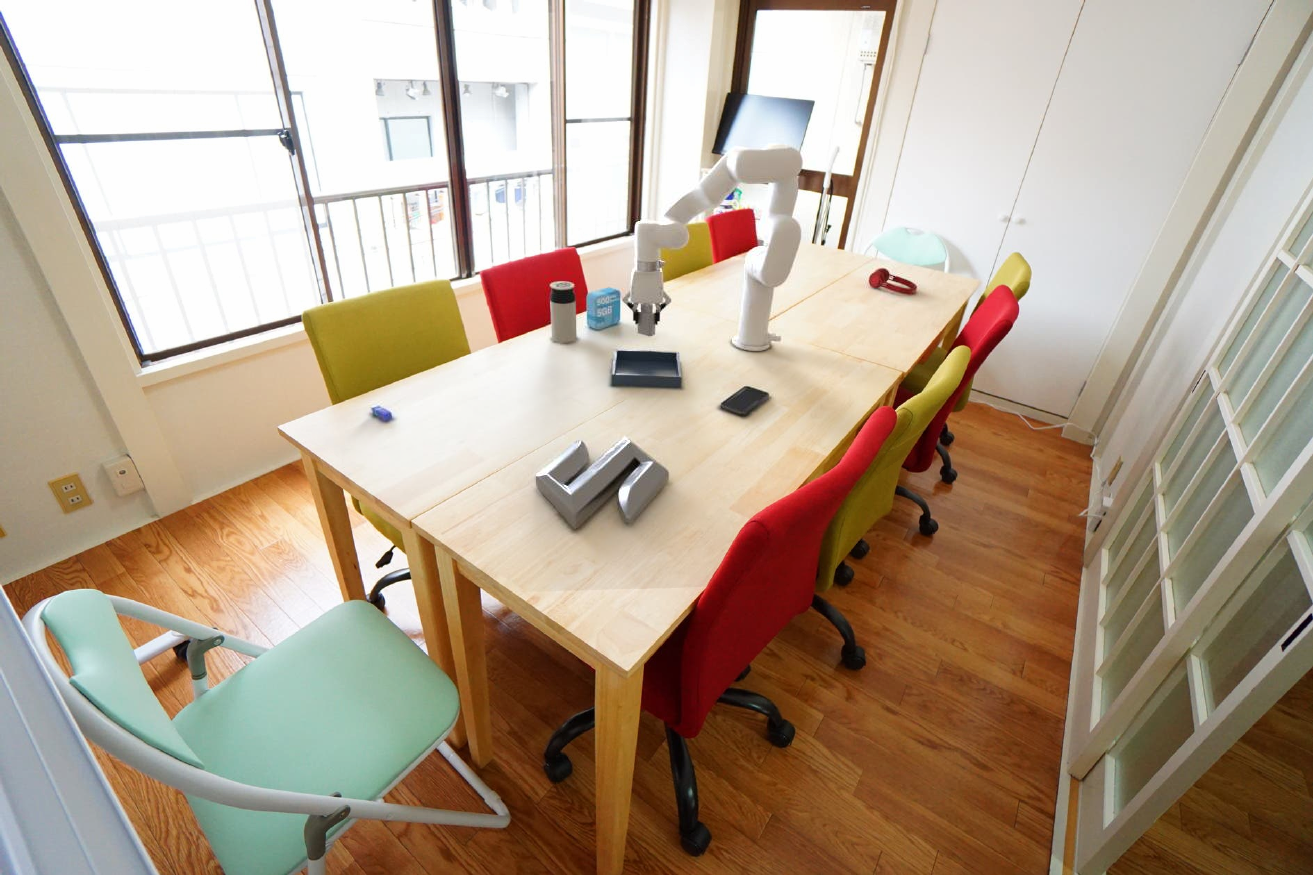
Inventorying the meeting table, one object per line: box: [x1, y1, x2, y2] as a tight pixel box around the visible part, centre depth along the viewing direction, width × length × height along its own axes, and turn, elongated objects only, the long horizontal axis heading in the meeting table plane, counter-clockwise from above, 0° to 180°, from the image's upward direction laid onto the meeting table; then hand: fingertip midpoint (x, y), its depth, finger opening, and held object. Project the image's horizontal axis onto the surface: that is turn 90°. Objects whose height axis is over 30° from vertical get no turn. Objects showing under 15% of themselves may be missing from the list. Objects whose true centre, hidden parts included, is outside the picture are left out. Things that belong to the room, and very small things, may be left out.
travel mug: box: [549, 280, 577, 344], centre depth 185 cm, size 8×8×18 cm
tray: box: [610, 348, 683, 389], centre depth 169 cm, size 20×18×4 cm
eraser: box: [370, 404, 393, 422], centre depth 142 cm, size 2×6×2 cm, turn 53°
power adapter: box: [636, 303, 656, 337], centre depth 179 cm, size 3×5×12 cm, turn 55°
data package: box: [586, 286, 621, 331], centre depth 199 cm, size 12×4×12 cm, turn 138°
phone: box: [720, 385, 770, 417], centre depth 157 cm, size 8×1×15 cm
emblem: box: [535, 436, 670, 530], centre depth 121 cm, size 28×5×28 cm
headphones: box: [868, 267, 918, 295], centre depth 255 cm, size 15×7×20 cm
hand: (646, 322), depth 181 cm, fingers closed on power adapter, 5 cm apart
